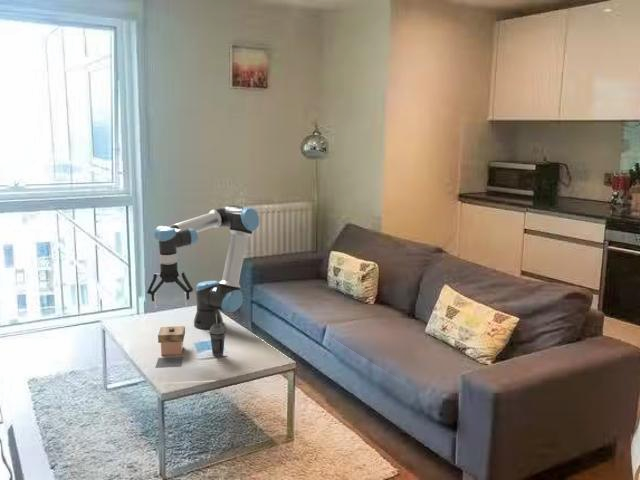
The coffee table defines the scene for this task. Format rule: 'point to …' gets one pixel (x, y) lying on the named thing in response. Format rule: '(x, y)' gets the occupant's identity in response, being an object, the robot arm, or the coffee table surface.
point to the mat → (169, 362)
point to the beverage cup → (217, 339)
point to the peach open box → (171, 348)
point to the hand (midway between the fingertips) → (171, 307)
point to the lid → (171, 334)
